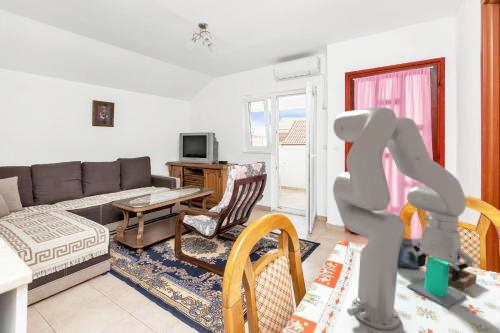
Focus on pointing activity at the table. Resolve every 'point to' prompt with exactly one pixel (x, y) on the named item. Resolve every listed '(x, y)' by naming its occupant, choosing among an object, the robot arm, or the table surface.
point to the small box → (408, 255)
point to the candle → (437, 276)
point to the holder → (466, 280)
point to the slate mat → (445, 301)
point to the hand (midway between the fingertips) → (437, 272)
